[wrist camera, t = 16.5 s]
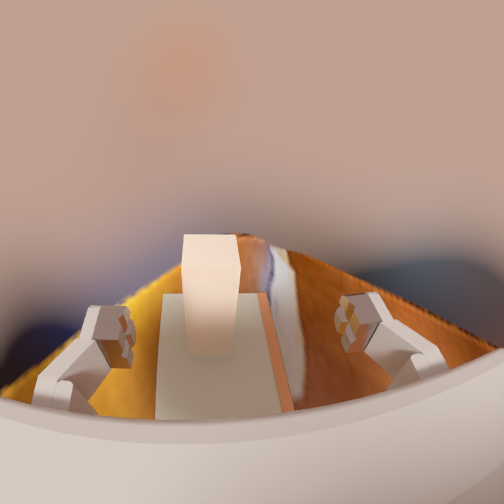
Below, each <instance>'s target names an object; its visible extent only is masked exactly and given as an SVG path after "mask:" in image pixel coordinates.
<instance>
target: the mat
mask: <svg viewBox="0 0 504 504" xmlns="http://www.w3.org/2000/svg"><path fill="white" fill-rule="evenodd" d="M290 411H295V410H294V406H293V401H292V397H291V393H290V389H289V385H288V380H287V376H286V372H285V368H284V364H283V359H282V355H281V351H280V347H279V343H278V339H277V334H276V330H275V326H274V322H273V318H272V314H271V309H270V305H269V301H268V297H267V293H266V292H257V293H238V300H237V310H236V319H235V329H234V339H233V348H232V356H189V355H188V346H187V336H186V325H185V313H184V300H183V294H163V303H162V312H161V323H160V335H159V348H158V363H157V381H156V408H155V419H156V420H199V419H222V418H237V417H249V416H259V415H268V414H276V413H283V412H290Z"/></svg>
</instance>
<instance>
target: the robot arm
mask: <svg viewBox="0 0 504 504" xmlns="http://www.w3.org/2000/svg"><path fill="white" fill-rule="evenodd" d="M339 303H340V305H341V306H340V307H339V308H338V309H337V310H336V312H335V315H334V323H335V328H336V330H337V332H338V333H339V334H341V335H342V339H341V343H342V345H343V347H344V350H345V352H346V353H353V352H359V351H364V352H365V353H366V354H367V355H368V356H369V357H370V358H371V359H373V360H374V361H375V362H376V363H377V364H378V365H379V366H380V367H381V368H382V369H383V370H385V371H386V372H387V373H388V374H389V375H390V376H391V377H392V378H393V380H392V381H391V382H390V384H389V385H388V386H387V388H386V390H387V391H384V392H381V393H377V394H373V395H369V396H365V397H361V398H357V399H353V400H349V401H344V402H340V403H335V404H330V405H325V406H320V407H315V408H309V409H303V410H297V411H290V412H283V413H276V414H268V415H259V416H249V417H237V418H222V419H199V420H156V419H134V418H120V417H109V416H99V415H97V412H96V411H95V409H94V408H93V407H92V406H91V405H90V404H89V403H88V400H89V399H90V398H91V396H92V395H93V394H94V392H95V391H96V389H97V388H98V387H99V385H100V384H101V383H102V381H103V380H104V379H105V377H106V376H107V374H108V373H109V372H110V370H111V368H125V369H131V368H132V360H133V352H132V350H131V348H132V347H133V346H134V345H135V326H134V323H133V321H132V320H131V319H130V318H129V317H130V311H129V308H128V307H127V306H94V305H91V306H90V307H89V308H88V310H87V314H86V317H85V320H84V324H83V327H82V330H81V333H80V337H79V339H75V340H74V341H73V342H72V343H71V344H70V345H69V346H68V347H67V348H66V349H65V350H64V351H63V352H62V353H60V354H59V355H58V356H57V357H56V358H55V359H54V360H53V361H52V362H51V363H50V364H49V365H48V366H47V367H46V368H45V369H44V370H43V371H42V372H41V373H40V374H39V375H38V378H37V382H36V386H35V389H34V393H33V398H32V402H31V404H28V403H24V402H20V401H16V400H12V399H8V398H4V397H1V396H0V504H504V348H498V349H495V350H493V351H491V352H489V353H487V354H485V355H483V356H481V357H478V358H476V359H474V360H472V361H469V362H467V363H465V364H462V365H460V366H457V367H455V368H452V369H449V367H448V365H447V363H446V361H445V360H444V358H443V356H442V354H441V352H440V351H439V349H438V347H437V346H435V345H434V344H432V343H431V342H429V341H428V340H426V339H425V338H423V337H422V336H421V335H419V334H418V333H416V332H415V331H413V330H412V329H410V328H409V327H407V326H406V325H404V324H403V323H401V322H400V321H398V320H397V319H396V320H393V318H392V316H391V314H390V313H389V311H388V309H387V307H386V306H385V304H384V302H383V300H382V299H381V297H380V295H379V294H378V293H377V292H367V293H358V294H349V295H343V296H342V297H341V298H340V301H339Z"/></svg>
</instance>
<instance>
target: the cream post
mask: <svg viewBox="0 0 504 504" xmlns="http://www.w3.org/2000/svg"><path fill="white" fill-rule="evenodd" d="M181 270H182V286H183V300H184V313H185V325H186V336H187V346H188V355H189V356H232V348H233V339H234V329H235V319H236V310H237V300H238V291H239V281H240V272H241V265H240V259H239V253H238V247H237V241H236V235H191V234H186V235H184V242H183V255H182V267H181Z"/></svg>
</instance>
